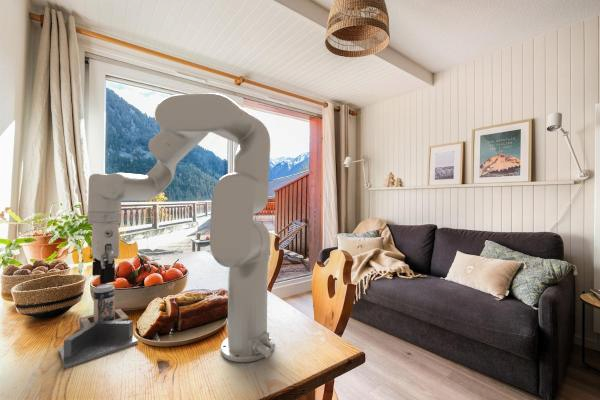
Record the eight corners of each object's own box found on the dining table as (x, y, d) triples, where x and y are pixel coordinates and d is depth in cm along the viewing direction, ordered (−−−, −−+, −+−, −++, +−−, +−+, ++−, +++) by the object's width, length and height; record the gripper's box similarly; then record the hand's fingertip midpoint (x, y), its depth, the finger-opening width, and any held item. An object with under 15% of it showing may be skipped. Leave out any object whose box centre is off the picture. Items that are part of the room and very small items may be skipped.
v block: (137, 343, 68) (138, 324, 68) (64, 369, 57) (64, 346, 57) (126, 330, 74) (126, 313, 74) (59, 351, 64) (59, 331, 64)
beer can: (101, 334, 72) (101, 289, 72) (89, 331, 74) (89, 287, 74) (118, 326, 77) (119, 284, 77) (106, 323, 78) (107, 282, 78)
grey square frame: (128, 328, 76) (129, 317, 76) (85, 341, 69) (85, 329, 69) (119, 317, 82) (119, 308, 82) (79, 328, 75) (79, 318, 75)
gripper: (129, 219, 72) (127, 283, 72) (112, 215, 84) (111, 270, 84) (94, 220, 67) (92, 289, 67) (82, 216, 78) (80, 274, 79)
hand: (103, 278), depth 75 cm, fingers open, 9 cm apart
